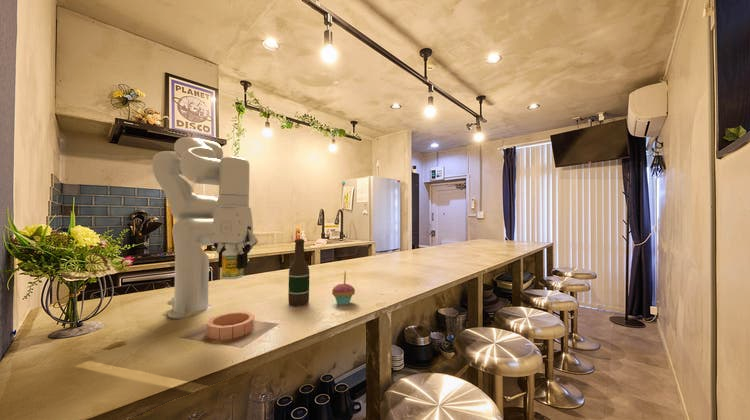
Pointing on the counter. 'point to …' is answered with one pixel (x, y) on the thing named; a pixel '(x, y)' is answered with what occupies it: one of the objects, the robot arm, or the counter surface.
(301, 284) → the beer bottle
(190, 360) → the counter surface
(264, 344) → the counter surface
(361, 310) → the counter surface
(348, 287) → the cupcake
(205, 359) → the counter surface
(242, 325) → the terracotta holder
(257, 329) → the grey flat pad
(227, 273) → the supplement bottle
